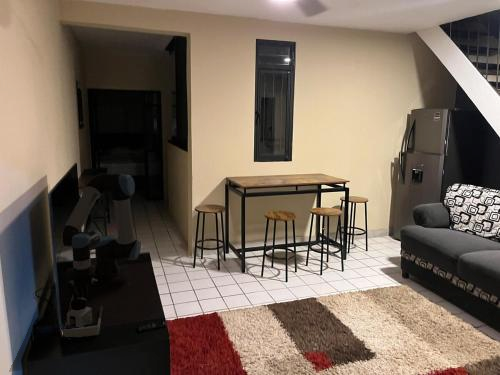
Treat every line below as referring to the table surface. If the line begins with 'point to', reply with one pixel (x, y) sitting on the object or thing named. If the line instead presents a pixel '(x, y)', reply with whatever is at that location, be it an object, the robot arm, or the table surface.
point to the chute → (84, 329)
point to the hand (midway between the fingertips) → (84, 313)
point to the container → (79, 313)
